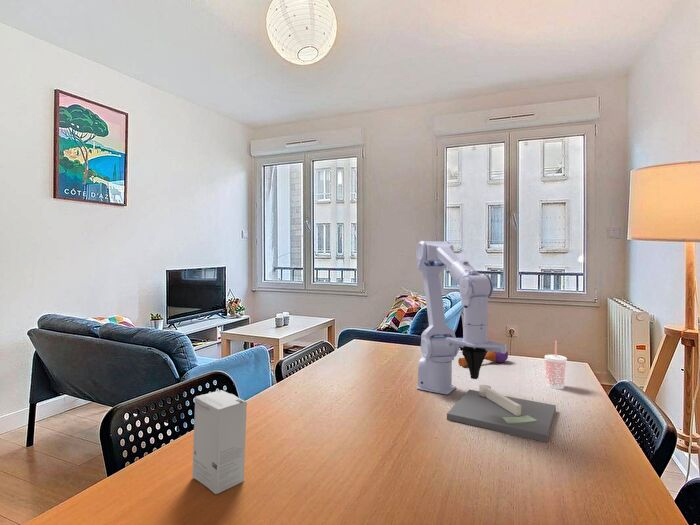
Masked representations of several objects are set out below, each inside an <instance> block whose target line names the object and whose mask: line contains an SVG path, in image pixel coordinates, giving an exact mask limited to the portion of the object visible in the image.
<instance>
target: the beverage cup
mask: <svg viewBox="0 0 700 525" xmlns="http://www.w3.org/2000/svg"><path fill="white" fill-rule="evenodd" d="M557 346H558V341H557V340H554V354H545V355H544V360H545V376H546V378H545V379H546V387H547V388H551V389H555V390H561V389H562V390H563V389H564V388H565V377H566V364H567V361H568V358H567V357H566V356H564V355H560V354H557V353H558V352H557V351H558V350H557V349H558V347H557Z"/></svg>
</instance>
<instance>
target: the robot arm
mask: <svg viewBox="0 0 700 525" xmlns="http://www.w3.org/2000/svg"><path fill="white" fill-rule="evenodd" d="M415 256H416V265H417V270H419V271H420V272H421V273H422V279H423V280H422V281H423V288H424V297H425V304H426V312H427V320H428V326H427V328H426V329H424V330H423V331H422V333H421V336H420V338H421V339H420V340H421V341H420V352H421V354H422V356H421V358H420V359H419V361H418V366H417V386H416V389H417V390H421V391H426V392H431V393H436V394H442V395H445V396H446V395H447V396H448V395H449V394H451V392H452V391H454V390H455V389H456V388H457V385H455V384H452V382H453V381H452V378H453V376H452V375H453V361H455V358H456V357H457V355H458V353H459V348H462V350H461V353H462V356H463V358H465V360H466V362H467V364H468V366H467V368H468V371H469V375H470V379H472V380H478V379H479V378H480V377H479V376H480V370H481V367H482V364H483V362H484V360H485V359H484V358H485V356H486V354H487V353H488V352H489V351H494V352H500V353H504V354H505V353H506V352H508V350H507V348H508V347H507V343H502V342H496V341H491V340H488V323H489V322H488V319H489V317H488V316H489V313H488V312H489V306H488V305H489V298H490V297H491V296H492V295H493V292H494V282H493V280H492V277H490V275H489V274H485V273H484V274H482V273H479V272H478V271H477V270H476V269H475V268H474V267H473V266H472V265H471V264H470V263H469V261H468V260H467V259H460V258H459V257H458V255H457V254H456V253H455V252H454V245H453V243H452V242H451V241H449V240H445V241H438V240H437V241H429V240H428V241H427V240H426V241H425V240H420V241H419V242H418V243H417V245H416V250H415ZM447 268H448V270H449V272H448V273H449V276H450V277H451V278H452V279H453V280H454V281H455V283H456V284H457V285H458V290H459V294H460V298H461V304H462V306H463V322H462V323H463V325H462V326H463V328H462V329H463V331H462V332H463V333H462V335H463V336H462V337H456V333H455V331H454V329H452V328H451V327H449V326H448V325H447V322H446V314H445V307H444V300H443V293H442V287H441V286H442V285H441V278H440V273H441V272H443V271H445V269H447Z"/></svg>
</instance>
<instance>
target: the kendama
mask: <svg viewBox="0 0 700 525" xmlns="http://www.w3.org/2000/svg"><path fill="white" fill-rule="evenodd" d="M508 358H509V352H508V351H507V352H506V353H505V354H504V353H500V352H494V351H488V352H487V354H486V356H485V358H484V360H487V361H489V362H492V363H498V362H499V363H500V364H501V363H502V364H503V363H505V362H506V361H507V360H508ZM499 363H498V364H499ZM458 365H459V366H460V367H461V366H462V367H461V368H464V367H468V364H467V362H466V360H465V358H464V357H459V358H458Z"/></svg>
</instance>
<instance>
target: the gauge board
mask: <svg viewBox="0 0 700 525" xmlns="http://www.w3.org/2000/svg"><path fill="white" fill-rule="evenodd" d="M504 396H505V397H507V398H509V399H510V400H512V401H514V402H516V403H518V404H519V405H521V415H520V416H516V415H514V414H513V413H511V412H509V411H508V410H506V409H504V408H503V407H501V406H499V405H498V404H496V403H495V402H493V401H491V400H490V399H488V398H486V397H482V396H480V395H479V390H473V389H468V390H467V392H465V394H464V395H462V397H460V399H459V400H458V401H457V402H456V403H455V404H454V405H453V406H452V407H451V409H449V411H447V413H446V420H447V421H452V422H456V423H461V424H466V425H470V426H473V427H477V428H478V427H479V428H483V429H486V430H487V429H488V430H491V431H496V432H500V433H505V434H510V435H512V436H513V435H514V436H517V437H518V436H519V437H523V438H526V439H530V440H535V441H540V442H544V443H545V442H546V443H547V442H548V439H549V435H550V432H551V429H552V425H553V422H554V418H555V415H556V412H557V406H556V405H557V404H552V403H546V402H541V401H535V400H529V399H524V398H517V397H513V396H508V395H504Z"/></svg>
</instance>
